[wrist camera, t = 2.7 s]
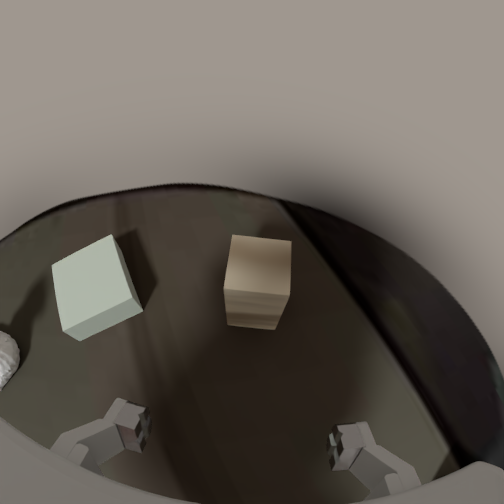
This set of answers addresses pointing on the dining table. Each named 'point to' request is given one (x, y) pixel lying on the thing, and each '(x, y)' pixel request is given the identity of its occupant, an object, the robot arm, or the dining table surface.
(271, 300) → the birch block
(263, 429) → the dining table surface
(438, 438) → the dining table surface
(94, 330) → the sage block
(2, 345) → the seated beast figurine
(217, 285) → the dining table surface
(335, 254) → the dining table surface
